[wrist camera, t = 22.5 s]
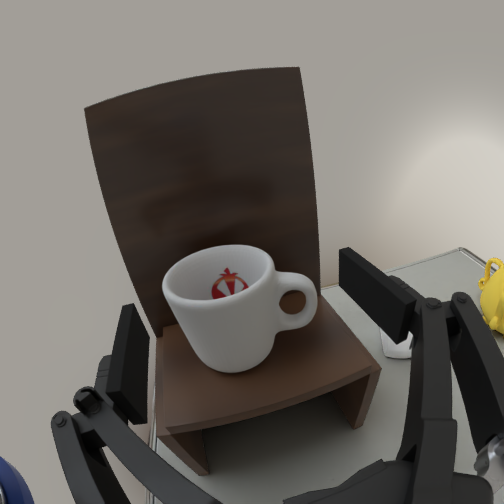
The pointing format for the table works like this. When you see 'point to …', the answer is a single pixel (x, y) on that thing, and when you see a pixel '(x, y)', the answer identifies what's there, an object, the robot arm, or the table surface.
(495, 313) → the teapot
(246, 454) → the table surface
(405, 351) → the computer mouse
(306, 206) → the wooden chair
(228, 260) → the cup
